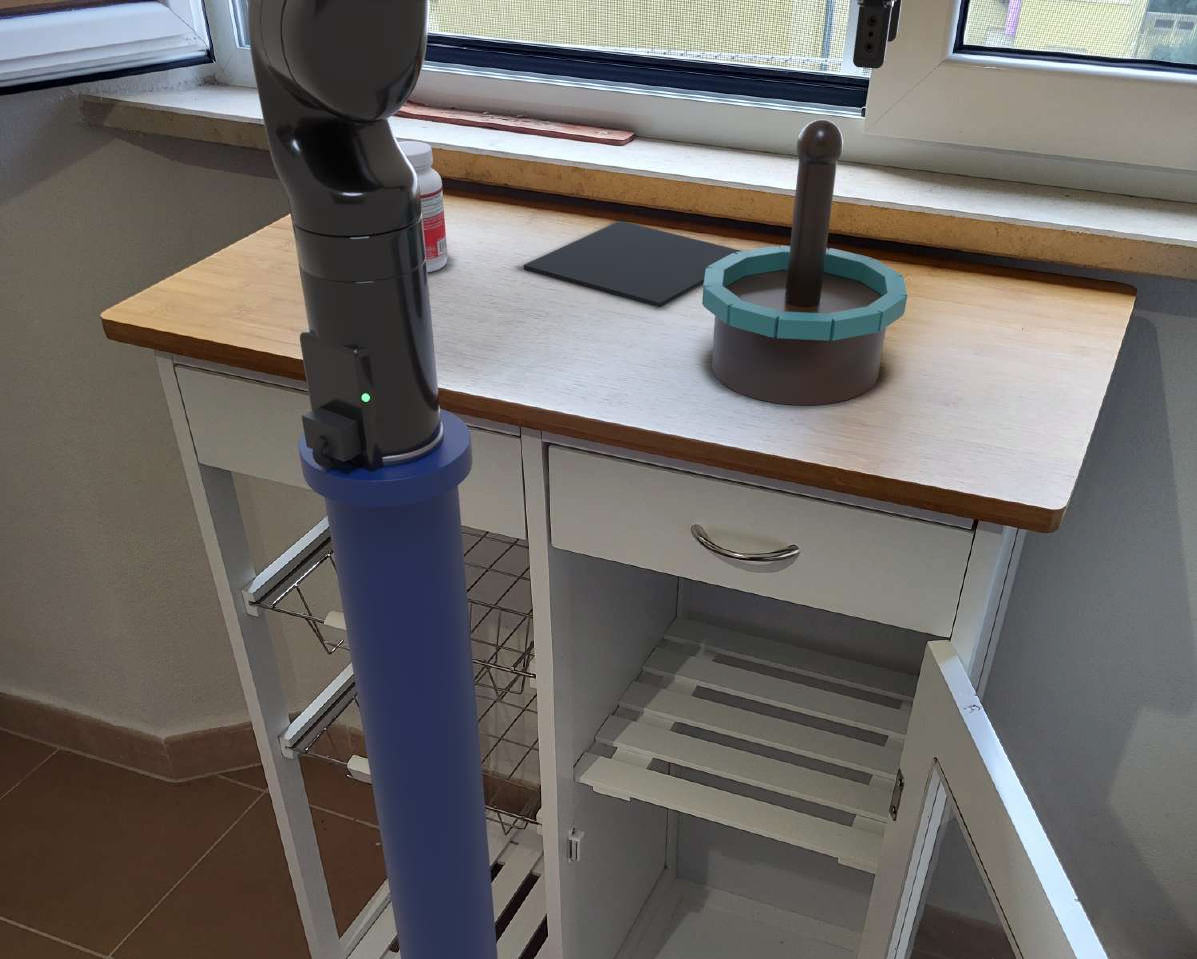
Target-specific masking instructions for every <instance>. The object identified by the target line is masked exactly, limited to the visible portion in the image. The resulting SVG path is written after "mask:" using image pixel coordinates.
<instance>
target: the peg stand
mask: <svg viewBox="0 0 1197 959" xmlns="http://www.w3.org/2000/svg"><path fill="white" fill-rule="evenodd" d="M843 148H844V137H843V134H842V132H841V130H840V128H839V126H838V125H837V124H835V123H834V122H833V121H831V120H828V119H825V118H824V119H820V118H819V119H816V120H813V121H811V122H809V123H807V124H806V125H805V126H804V127H803V128H802V130H801V131H800V133H799V135H798V137H797V141H796V155H797V157H798V163H797V164H798V165H797V174H796V186H795V192H794V194H795V195H794V204H793V212H792V222H791V223H792V224H791V234H790V244H789V246H790V251H789V261H788V270H778V271H772V272H766V273H760V274H754V275H748V276H744V277H742V278H740V279H739V280H737V281H735V282H733V283H732V284H730V285H728V286H726V287H725V288H726V289H728V290H729V291H730V292H732V293H733V294H734V295H736V296H737V297H738V298H740V299H741V300H742V301H745V302H749V303H753V304H756V305H760V306H764V307H768V308H771V309H775V310H779V311H783V312H803V313H824V314H828V313H834V312H839V311H845V310H850V309H856V308H862V307H867V306H869V305H870V304H872V303H873V302H875V301H876V300H878V299H879V298H881V297H882V295H881V294H879V293H878V292H876V291H875V290H873V289H872V288H870V287H868V286H867V285H865V284H864V283H862V282H860V281H857V280H853V279H849V278H845V277H841V276H837V275H833V274H829V273H825V272H824V265H825V257H826V249H827V250H828V239H829V231H830V223H831V215H832V207H833V199H834V190H835V183H836V176H837V167H838V161H839V159H840V157H841V155H842V152H843ZM886 330H887V327H886V328H884V329H883V330H881V331H878V332H877V333H872V334H866V335H861V336H856V337H850V338H845V339H839V340H834V341H833V340H831V339H830V340H829V341H826V340H804V339H783V338H777V336H775V337H773V338H772V337H768V336H765V335H761V334H758V333H754V332H751V331H747V330H743V329H740V328H736V327H733V326H729V324H725V323H724V322H723V321H722V320H720V319H719V318H718V317H716V316H715V315H714V325H713V340H712V354H711V355H712V356H711V369H712V372H713V375H714V376H715V378H716V379H717V380H718V381H719V382H720V383H721V384H723V385H724V386H725V387H727V388H728V389H730V390H732V391H734V392H736V393H738V394H741V395H743V396H746V397H748V398H752V399H756V400H759V401H764V402H768V403H774V404H780V405H781V404H782V405H791V406H792V405H793V406H815V405H816V406H818V405H829V404H834V403H840V402H844V401H848V400H851V399H854V398H857V397H859V396H861V395H863V394H865V393H866V392H868V391H869V390H870V389H872V388H873V387H874V386H875V384H876V383H877V381H878V378H879V374H880V368H881V363H882V362H881V361H882V355H883V349H884V343H885V337H886Z"/></svg>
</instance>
